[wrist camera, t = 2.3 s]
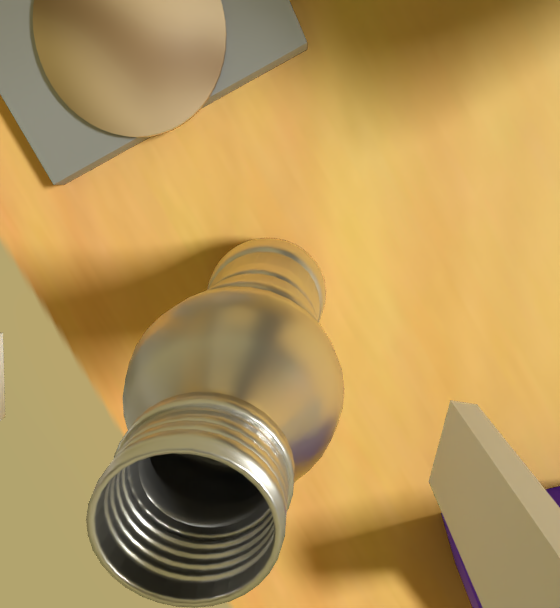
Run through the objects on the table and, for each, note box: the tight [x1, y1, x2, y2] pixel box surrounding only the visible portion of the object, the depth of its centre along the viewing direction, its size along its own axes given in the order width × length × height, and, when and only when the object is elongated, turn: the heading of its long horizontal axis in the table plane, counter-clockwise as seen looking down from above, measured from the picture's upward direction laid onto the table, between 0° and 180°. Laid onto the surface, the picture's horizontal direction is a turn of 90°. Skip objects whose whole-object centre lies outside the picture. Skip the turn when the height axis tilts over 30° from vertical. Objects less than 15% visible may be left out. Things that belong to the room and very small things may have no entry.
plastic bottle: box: [86, 238, 344, 608], centre depth 18 cm, size 6×7×20 cm
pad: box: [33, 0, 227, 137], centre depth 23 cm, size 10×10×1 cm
